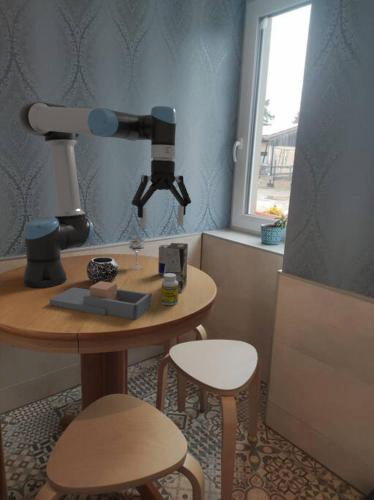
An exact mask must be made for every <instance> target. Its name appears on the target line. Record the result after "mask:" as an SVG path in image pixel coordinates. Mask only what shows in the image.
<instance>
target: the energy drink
mask: <svg viewBox="0 0 374 500" xmlns="http://www.w3.org/2000/svg"><path fill="white" fill-rule="evenodd" d="M169 245H170V244H160V245H159V246H158V268H157V269H158V270H157V271H158V275H159V276H160V277H164V274H166V247H168V246H169Z"/></svg>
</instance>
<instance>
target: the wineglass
mask: <svg viewBox="0 0 374 500" xmlns="http://www.w3.org/2000/svg"><path fill="white" fill-rule="evenodd" d="M144 242H145V239H141V238H132V239H131V238H130V239H128V248H129V250H130V251H131V252H133V253H134V254H135V265H134V266H131V267H130V268H131V269H132V270H140V269H141V270H142V269H143V266H140V265H138V254H139V253H140V252H142V251H143V250H145V243H144Z"/></svg>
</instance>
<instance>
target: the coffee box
mask: <svg viewBox="0 0 374 500" xmlns="http://www.w3.org/2000/svg"><path fill="white" fill-rule="evenodd" d="M168 245H169V246H168V247H166V273H173V274H176V281H177V282H178V293H183V291H184V290H185V288H186V286H188V285H187V282H188V249H189V248H188V247H189V244H188V243H184V242H181V243H180V242H177V243H176V242H171V243H170V244H168Z"/></svg>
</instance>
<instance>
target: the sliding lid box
mask: <svg viewBox="0 0 374 500" xmlns="http://www.w3.org/2000/svg"><path fill="white" fill-rule="evenodd" d="M48 300H49V306H51V305H54V306H53V307H57V306H59V307H58V308H62V307H63V308H64V309H67V310H73V311H79V312H85V313H90V314H95V315H101V316H106V315H109V316H114V317H120V318H125V319H131V320H134V321H135V320H138V319H139V318H141V316H143V315H144V314H145V313H146V312H147V311H149V310H150V309H151V308H152V294H151V293H149V292H148V293H147V292H140V291H135V290H129V289H122V288H117V299H115V300H111V299H105V298H99V297H93V296H90V289H88V288H87V289H86V288H79V287H75V286H74V287H71V288H69V289H67V290H65V291H63V292H61V293H59V294H57V295H55V296H53V297H51V298H50V299H48Z"/></svg>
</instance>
